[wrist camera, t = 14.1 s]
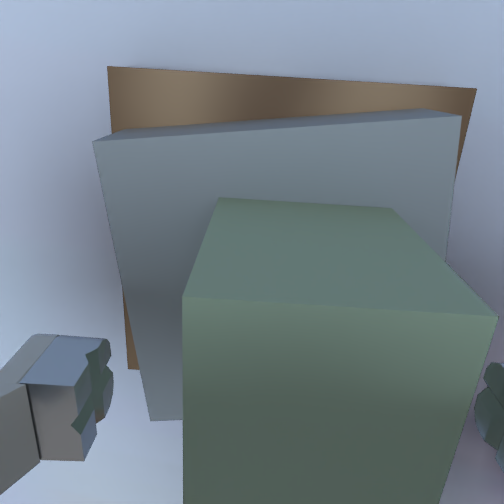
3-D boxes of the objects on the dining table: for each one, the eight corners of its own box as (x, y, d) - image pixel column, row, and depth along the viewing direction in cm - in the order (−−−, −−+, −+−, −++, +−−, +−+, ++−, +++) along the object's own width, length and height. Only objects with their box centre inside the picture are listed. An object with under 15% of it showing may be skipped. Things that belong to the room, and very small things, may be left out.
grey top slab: (422, 108, 14) (461, 115, 11) (402, 358, 18) (428, 410, 15) (124, 129, 14) (92, 141, 12) (167, 368, 18) (150, 421, 15)
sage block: (392, 208, 12) (499, 316, 7) (364, 352, 14) (429, 530, 9) (218, 197, 12) (182, 296, 7) (214, 342, 14) (183, 514, 9)
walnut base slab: (440, 86, 17) (476, 88, 14) (386, 344, 21) (405, 385, 18) (132, 67, 16) (107, 66, 14) (145, 330, 21) (128, 368, 18)
